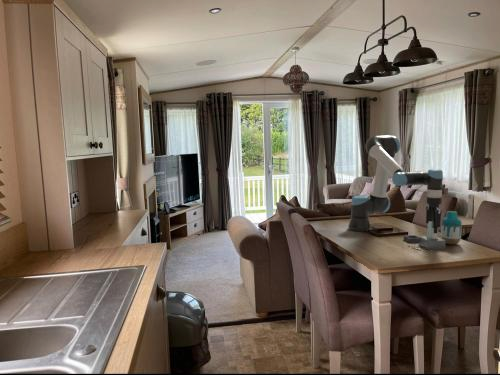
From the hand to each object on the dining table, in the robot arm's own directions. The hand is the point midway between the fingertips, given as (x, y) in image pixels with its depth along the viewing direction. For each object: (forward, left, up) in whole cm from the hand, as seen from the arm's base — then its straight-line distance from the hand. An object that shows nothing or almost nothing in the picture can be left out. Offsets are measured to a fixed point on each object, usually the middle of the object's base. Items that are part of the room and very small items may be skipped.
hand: (432, 237), depth 221 cm
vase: (-6, +14, -6) cm, 16 cm away
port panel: (0, 0, -5) cm, 5 cm away
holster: (-14, -5, -5) cm, 16 cm away
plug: (0, 0, -4) cm, 4 cm away
